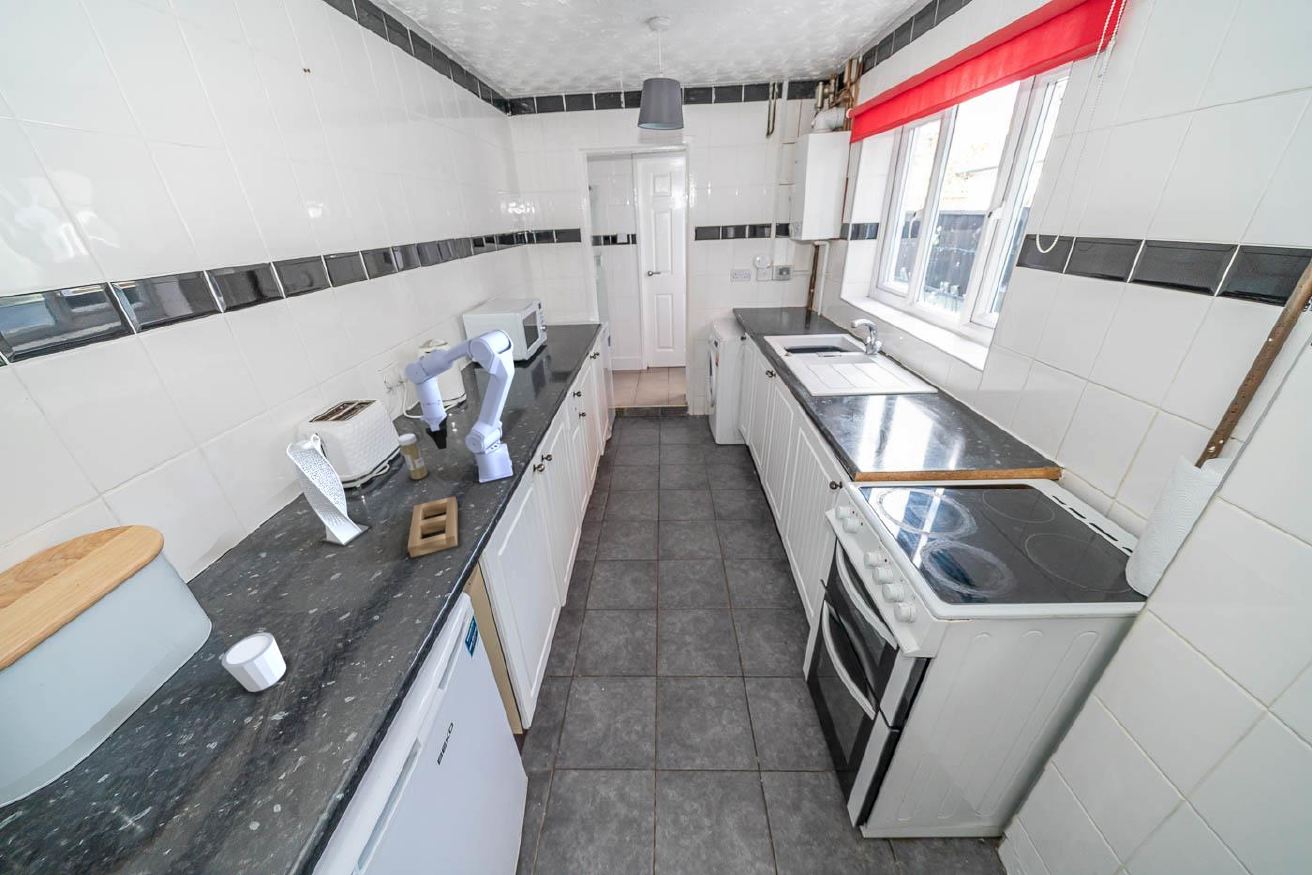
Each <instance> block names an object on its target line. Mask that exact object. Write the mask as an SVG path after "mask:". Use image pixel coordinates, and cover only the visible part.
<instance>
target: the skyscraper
mask: <svg viewBox="0 0 1312 875" xmlns="http://www.w3.org/2000/svg"><path fill="white" fill-rule="evenodd" d="M314 437H315V438H316V439H314ZM321 444H322V443H321V438H320V436H319V435H317V434H315V433H313V434H311V436H310V439H303V440H300V441H297V442H296V443H292V442H290V443H289V444H288V445H287V447H286V450H285V454H286V456H287V457H288V458H289V459H290V460H291V461H292V462H293V466H294V469H295V473H296V476H297V480H298V484H299V485H300V488H301V490H302V493H303V495H304V496H305V498H306V500H307V501H308V503H309V505H310V506H311V508H312V510H313V511H314V512H315V514H316V515H317V517H318V518H319V519H320V520H321V522H322V523H323V524H324V526H325V533H326V536H325V537H323V538H322V540H323V542H329V543H332V544H337V545H340V546H346V545H347V544H348V543H350V542H351V541H353V540H354V539H355V538H357V537H358V536H360V535H361V534H362V533H364V532H365V531H367V530H368V529H370V527H369V526H368V525H363V524H360V523H359V524H358V523H355V522H354V521H352V519H350V517H349V516H348V508H347V500H346V494H345V490H344V487H343V484H342V481H341V479H340V477H339V475H338V473H337V472H336V469H335V468H334V467H333V465H332V464H331V463H330V461H329V459H327V457H326V456H325V455H324V454H323V453H322V450H321V449H322V446H321Z"/></svg>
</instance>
